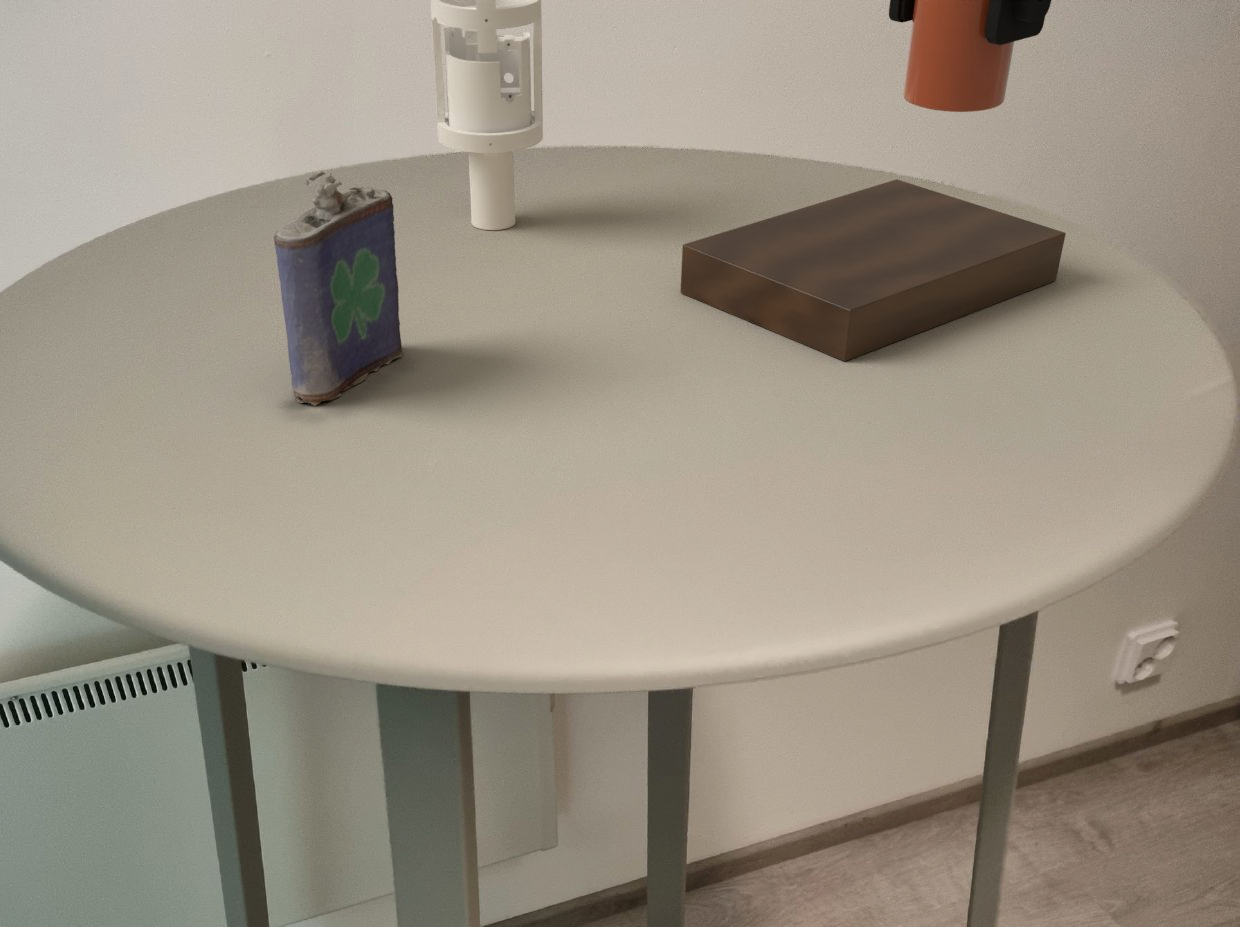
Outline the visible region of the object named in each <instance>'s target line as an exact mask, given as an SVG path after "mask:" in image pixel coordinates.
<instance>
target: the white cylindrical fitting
mask: <svg viewBox="0 0 1240 927" xmlns="http://www.w3.org/2000/svg"><path fill="white" fill-rule="evenodd" d="M429 3H430V20H431V37H432V56H433V72H434V74H433V76H434V90H435V92H434V93H435V108H436V109H435V110H436V125H437V129H436V130H437V140H438V142H439V143H440V144H441V145H443V146H444V147H447V148H449V149H453V150H456V151H459V152H466V153H468V172H469V175H468V176H469V193H470V214H471V215H470V220H471V226H473V227H474V228H476V229H479V230H484V231H485V230H486V231H500V230H506V229H509V228H512V227H514V226H515V225H516V202H515V198H516V197H515V163H514V162H515V161H514V160H515V158H514V157H515V156H514V152H518V151H522V150H527V149H530V148H532V147H535V146H537V145H538V144H540V143H541V142H542V141H543V140H544V139H543V138H544V123H543V122H544V117H543V116H544V113H543V46H542V45H543V38H542V37H543V34H542V31H543V30H542V0H429ZM475 6H476V7H475ZM496 6H499V7H496ZM531 24H532V48H533V50H532V54H533V58H532V59H533V110H532V88H531V87H532V83H531V82H532V80H531V33H530V32H529V31H523V36H515V35H513V34H500V33H497V30H505V29H512V28H519V27H523V26H529V25H531ZM441 25H442V26H444V27H443V28H444V30H443V31H444V32H443V33H444V34H443V35H444V62H445V81H446V99H447V100H446V101H447V111H446V107H445V104H446V103H445V88H444V69H443V67H444V66H443V50H442V48H443V47H442V31H441V30H442V29H441V28H442V27H441ZM463 29H465V30H464V35H463ZM506 74H511V76H512V77H513V80H512V82H507V81H506V80H505V75H506Z"/></svg>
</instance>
